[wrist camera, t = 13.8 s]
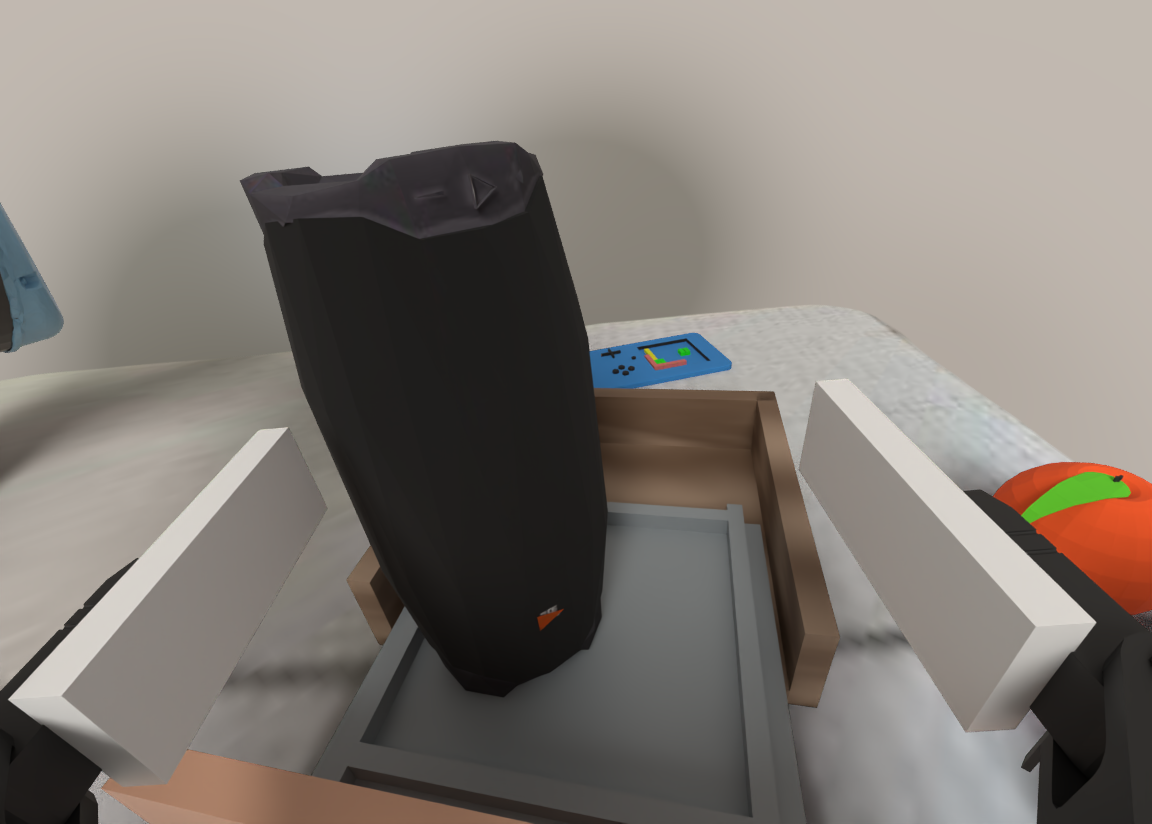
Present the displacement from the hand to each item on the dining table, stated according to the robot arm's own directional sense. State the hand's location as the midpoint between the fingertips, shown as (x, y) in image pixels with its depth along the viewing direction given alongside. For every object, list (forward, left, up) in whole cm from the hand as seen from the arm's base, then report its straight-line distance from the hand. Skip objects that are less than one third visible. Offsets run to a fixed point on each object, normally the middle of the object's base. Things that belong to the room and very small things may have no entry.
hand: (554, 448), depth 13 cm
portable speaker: (-5, -1, -13) cm, 14 cm away
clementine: (+4, +23, -15) cm, 28 cm away
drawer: (-3, +1, -15) cm, 15 cm away
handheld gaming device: (-28, +19, -16) cm, 38 cm away
